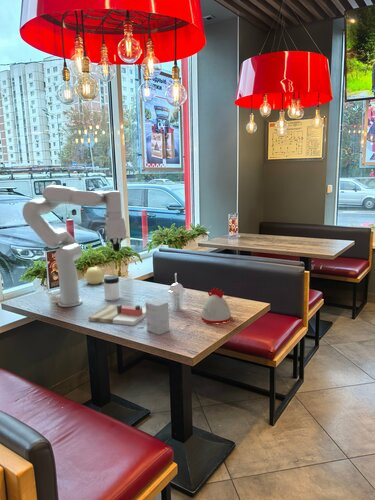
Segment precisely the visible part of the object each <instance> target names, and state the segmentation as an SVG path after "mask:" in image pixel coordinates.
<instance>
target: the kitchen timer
mask: <svg viewBox="0 0 375 500" xmlns="http://www.w3.org/2000/svg"><path fill="white" fill-rule="evenodd" d="M207 294H208V296H209V297H207V299H206V300H205V301H204V304H203V306H202V309H201V314H200V317H201V319H202V320H203V321H204V322H203V321H202V320H201V321H202V322H203V323H205V322H207V323H206V324H208V323H223V322H227V321H229V320H230V319H231V320H232V314H231V310H230V306H229V304H228V302H227V300H225V298H224V297H223V296H224V294H225V291H223V292H222V289H221V288H220V289H219V288H216V287H213V289H212V288H211V289H210V291H207ZM231 320H230V321H231ZM230 321H229V322H230ZM227 323H228V322H227Z"/></svg>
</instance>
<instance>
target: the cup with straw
mask: <svg viewBox="0 0 375 500" xmlns="http://www.w3.org/2000/svg"><path fill="white" fill-rule="evenodd" d="M178 275H179V274H178V273H177V272H175V273H174V281H175V282H174V283H171V285H169V288H168V290H167V292H168V293H169V297H170V302H171V307H172V311H174V312H181V311H182V310H183V298H184V297H183V296H184V293H185V292H186V290H185V288H184V287H183V285H182V284H181V283H180V282H179V283H178V282H177V276H178Z"/></svg>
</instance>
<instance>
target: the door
mask: <svg viewBox="0 0 375 500" xmlns="http://www.w3.org/2000/svg"><path fill="white" fill-rule="evenodd" d="M135 306H136V305H133V307H135ZM139 306H140V308H142V315H140V316H135V315H128V314H119V315H118V316H117V317H115V318H114V319H113V323H112V324H118V325H128V326H135V325H137V324H138V323H139V322H140V321H141V320H142V319H144V318H145V317H146V307H143V306H141V305H139Z"/></svg>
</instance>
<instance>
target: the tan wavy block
mask: <svg viewBox="0 0 375 500" xmlns="http://www.w3.org/2000/svg"><path fill="white" fill-rule="evenodd" d="M124 306H125V305H122V304H118V305H114V304H113V305H112V304H106V306H104V307H103V308H101V309H99V310H97V311H96V312H94V313H92V314H91V315H90V316H88V321H89V322H99V323H108V324H114V323H113V319H114V318H115V317H117V316H118V315H119V314H121V308H122V307H124Z"/></svg>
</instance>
